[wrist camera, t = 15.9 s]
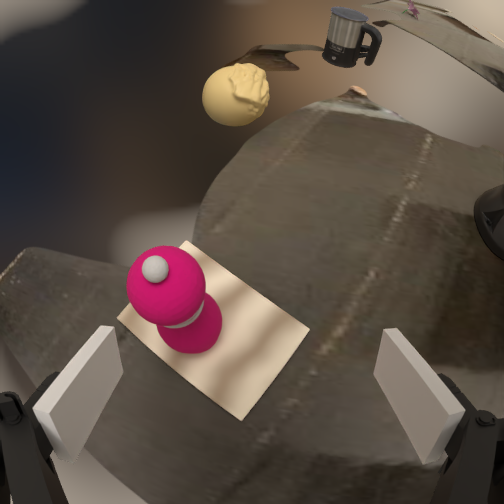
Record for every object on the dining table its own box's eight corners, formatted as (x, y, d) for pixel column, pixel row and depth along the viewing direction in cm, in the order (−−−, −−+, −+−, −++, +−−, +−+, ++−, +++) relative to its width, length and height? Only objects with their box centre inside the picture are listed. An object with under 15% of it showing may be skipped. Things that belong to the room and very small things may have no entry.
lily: (415, 24, 95) (428, 12, 88) (395, 6, 93) (408, -6, 86) (412, 23, 103) (424, 12, 96) (394, 7, 101) (406, -4, 94)
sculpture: (263, 138, 54) (268, 91, 44) (197, 131, 54) (192, 84, 44) (270, 101, 58) (274, 57, 49) (211, 95, 59) (209, 52, 49)
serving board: (306, 332, 40) (310, 329, 38) (241, 419, 35) (241, 421, 33) (188, 246, 44) (186, 239, 42) (122, 321, 39) (116, 317, 37)
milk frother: (318, 61, 67) (328, 12, 54) (326, 40, 74) (335, -2, 60) (372, 78, 66) (389, 31, 52) (373, 54, 72) (386, 13, 59)
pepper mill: (234, 316, 38) (229, 241, 20) (206, 368, 35) (170, 342, 17) (184, 290, 39) (140, 200, 21) (155, 339, 36) (81, 285, 18)
